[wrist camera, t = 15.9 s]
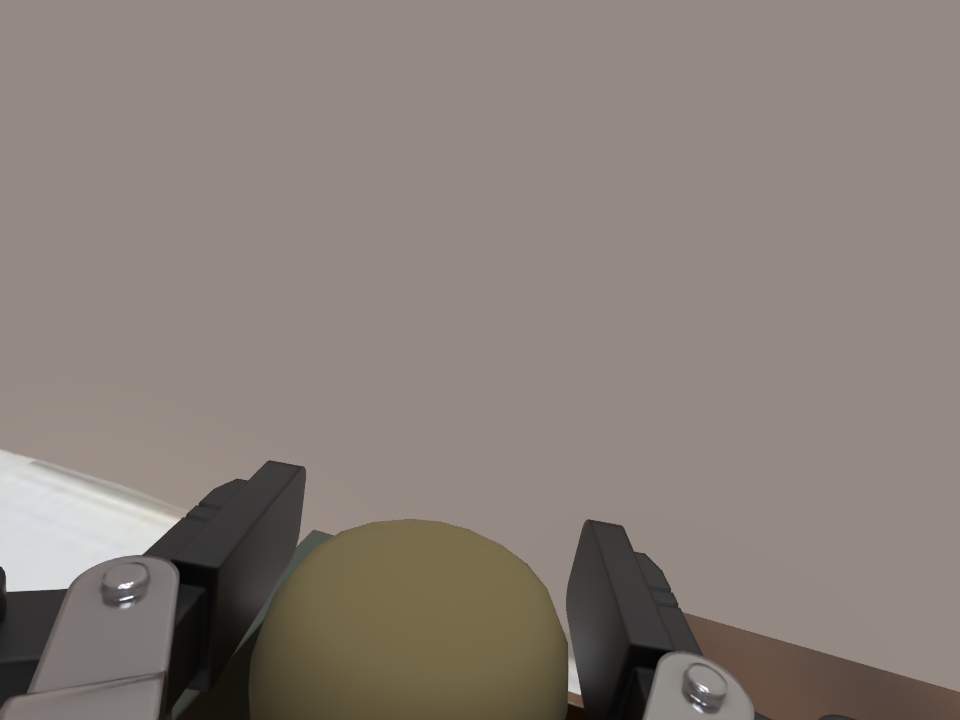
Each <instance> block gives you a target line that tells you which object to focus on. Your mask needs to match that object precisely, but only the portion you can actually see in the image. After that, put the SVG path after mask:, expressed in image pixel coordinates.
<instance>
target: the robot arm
mask: <svg viewBox="0 0 960 720" xmlns="http://www.w3.org/2000/svg"><path fill="white" fill-rule="evenodd" d="M305 481H306V470H305V467H303V466H297V465H292V464H286V463H281V462H276V461H267V462H266V463H265V464H264V465H263V466H262V467H261V468H260V469H259V470H258V471H257V472H256V473H255V474H254V475H253V476H252V478H250V479H249V480H248V481H247V480H241V479H235V480H233V481H231V482H229V483H226V484H224V485H222V486H219V487H217V488H215V489H213V490H212V491H211V492H210V493H209V494H208V495H207V496H206V497H205V498H204V499H203V500H202V501H200V503H199V505H198V506H195V507H194V508H193V509H192V510H191V511H190V512H188V513H187V515H186V517H185V518H184V517H183V518H182V519H181V520H180V521H179V522H178V523H177V524H175V525H174V526H173V527H172V528H171V529H170V530H169V531H168V532H167V533H166V534H165V535H164V536H162V537H161V538H160V539H159V540H158V541H157V542H156V543H155V544H154V545H153V546H152V547H150V548H149V549H148V550H147V551H146V552H145V553H144V554H143V555H133V556H125V557H120V558H115V559H112V560H109V561H105V562H103V563H100V564H98V565H96V566H94V567H92V568H90V569H88V570H87V571H85V572H83V573H82V574H81V575H79V576H78V577H77V578H76V579H75V580H74V581H73V582H72V584H71V585H70V587H69V588H68V589H60V590H40V591H19V592H6V575H5V571H4V570H3V569H2V567H0V720H172V708H173V707H174V705H175V704H176V702H177V701H178V699H179V698H180V697H181V695H182V694H183V692H184V691H185V689H189V690H195V691H201V692H206V693H209V692H210V691H211V689H212V688H213V686H214V684H215V683H216V681H217V680H218V678H219V676H220V675H221V673H222V671H223V670H224V668H225V667H226V665H227V663H228V662H229V660H230V659H231V657H232V655H233V654H234V652H235V650H236V649H237V647H238V646H239V644H240V642H241V641H242V639H243V638H244V636H245V634H246V633H247V631H248V629H249V628H250V626H251V625H252V623H253V621H254V620H255V618H256V616H257V615H258V613H259V612H260V610H261V608H262V607H263V605H264V604H265V602H266V600H267V599H268V597H269V595H270V594H271V592H272V591H273V589H274V587H275V586H276V584H277V583H278V581H279V579H280V578H281V576H282V574H283V573H284V571H285V570H286V568H287V566H288V565H289V563H290V561H291V559H292V557H293V555H294V552H295V549H296V546H297V541H298V538H299V532H300V524H301V516H302V507H303V499H304V489H305ZM566 611H567V618H568V623H569V629H570V634H571V640H572V645H573V651H574V656H575V661H576V667H577V672H578V678H579V683H580V689H581V694H582V699H583V705H584V710H585V716H586V720H773V719H770V718H768V717H766V716H764V715H762V714H760V713H758V712H756V711H754V707H753V704H752V701H751V698H750V696H749V694H748V693H747V691H746V690H745V688H744V687H743V686H742V685H741V683H740V682H739V681H738V680H737V679H736V678H735V677H734V676H733V675H732V674H731V673H729V672H728V671H727V670H726V669H724V668H723V667H721V666H720V665H718V664H717V663H715V662H713V661H711V660H710V659H708V658H705V657H704V656H703V654H702V652H701V650H700V648H699V645H698V643H697V641H696V639H695V637H694V635H693V633H692V631H691V629H690V627H689V625H688V623H687V621H686V619H685V617H684V615H683V613H682V611H681V609H680V608H678V603H677V600H676V598H675V596H674V594H673V593H671V588H670V586H669V584H668V582H667V580H666V578H665V576H664V574H663V572H662V570H661V569H660V568H659V567H658V566H656V564H655V563H654V562H653V561H652V560H651V559H650V558H649V557H648V556H647V555H646V554H644V553H639V552H634V551H633V548H632V546H631V543H630V541H629V539H628V537H627V534H626V532H625V529H624V528H623V526H621V525H616V524H611V523H605V522H600V521H594V520H589V519H588V520H586V522H585V523H584V525H583V528H582V532H581V535H580V539H579V544H578V547H577V551H576V555H575V559H574V563H573V567H572V570H571V574H570V578H569V582H568V587H567V596H566ZM818 720H856V719H853V718H851V717H847V716H843V715H837V714H828V715H825V716H822V717H821V718H819V719H818Z"/></svg>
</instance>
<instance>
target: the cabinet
mask: <svg viewBox="0 0 960 720" xmlns="http://www.w3.org/2000/svg"><path fill="white" fill-rule="evenodd" d="M682 613H683V612H682ZM683 615H684V617H685V619H686V621H687V623H688V625H689V627H690V629H691V631H692V633H693V635H694V637H695V639H696V641H697V643H698V645H699V648H700V650H701V652H702V654H703V656H704V657H705V658H708V659H710V660H711V661H713V662H715V663H717V664H718V665H720V666H721V667H723V668H724V669H726V670H727V671H728V672H729V673H731V674H732V675H733V676H734V677H735V678H736V679H737V680H738V681H739V682H740V683H741V685H742V686H743V687H744V688H745V690H746V691H747V693H748V694H749V696H750V698H751V701H752V704H753V707H754V711H756V712H758V713H760V714H762V715H764V716H766V717H768V718H770V719H773V720H818V719H819V718H821V717H822V716H825V715H828V714H837V715H843V716H847V717H851V718H853V719H856V720H960V692H957V691H954V690H950V689H947V688H943V687H940V686H936V685H933V684H930V683H926V682H923V681H919V680H916V679H912V678H908V677H905V676H902V675H898V674H895V673H891V672H888V671H884V670H881V669H877V668H874V667H870V666H867V665H864V664H860V663H857V662H853V661H850V660H846V659H843V658H839V657H836V656H832V655H829V654H825V653H822V652H819V651H815V650H812V649H808V648H805V647H801V646H798V645H794V644H791V643H787V642H784V641H780V640H777V639H773V638H770V637H767V636H763V635H760V634H756V633H752V632H749V631H745V630H742V629H738V628H735V627H732V626H728V625H725V624H721V623H718V622H715V621H711V620H707V619H704V618H701V617H697V616H694V615H690V614H687V613H683ZM581 696H582V694H581Z"/></svg>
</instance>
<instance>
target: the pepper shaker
mask: <svg viewBox="0 0 960 720" xmlns="http://www.w3.org/2000/svg"><path fill="white" fill-rule="evenodd" d="M248 689H249V704H250V718H251V720H565V718H566V715H567V710H568V642H567V640H566V637H565V634H564V632H563V629H562V626H561V624H560V621H559V618H558V616H557V613H556V610H555V608H554V605H553V602H552V600H551V597H550V595H549V593H548V590H547V588H546V587H545V585H544V584H543V583H542V582H541V581H540V579H539V578H538V577H537V576H536V574H535V573H534V572H533V571H532V569H531V568H530V567H529V566H528V564H526V563H524V562H523V561H522V560H521V559H519V558H518V557H517V556H516V555H514V554H513V553H512V552H510V551H509V550H507V549H506V548H505V547H504V546H502V545H500V544H498V543H496V542H494V541H492V540H490V539H488V538H486V537H484V536H481V535H479V534H477V533H475V532H473V531H471V530H469V529H465V528H462V527H458V526H454V525H450V524H447V523H443V522H438V521H427V520H416V519H405V520H393V521H382V522H373V523H369V524H366V525H362V526H359V527H355V528H352V529H349V530H345V531H342V532H340V533H338V534H337V535H335V536H333V537H332V538H330V539H328V540H327V541H325V542H323V543H322V544H320V545H318V546H317V547H315V548H314V549H313V550H312V551H311V552H310V553H309V554H308V555H307V557H306V558H305V559H304V560H303V561H302V562H301V563H300V564H299V565H298V566H297V568H296V569H295V570H294V571H293V572H292V573H291V574H290V576H289V577H288V578H287V579H286V580H285V581H284V583H283V584H282V585H281V586H280V587H279V588H278V589H277V591H276V592H275V594H274V596H273V598H272V601H271V603H270V606H269V608H268V611H267V613H266V616H265V618H264V621H263V624H262V627H261V629H260V632H259V635H258V638H257V641H256V644H255V647H254V650H253V652H252V655H251V661H250V674H249V688H248Z"/></svg>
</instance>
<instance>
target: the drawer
mask: <svg viewBox="0 0 960 720" xmlns="http://www.w3.org/2000/svg"><path fill="white" fill-rule="evenodd" d="M332 537H333V535H330V534H326V533H323V532H320V531H316V530H313V531H312V532H311V533H310V534H309V535H308V536H307V537H306V538H305V539H304V540H303V541H302V542H301V543H300V544H299V545H298V546H297V547H296V549H295V552H294V555H293V557H292V559H291V561H290V563H289V565H288V566H287V568H286V570H285V571H284V573H283V574H282V576H281V578H280V579H279V581H278V583H277V584H276V586H275V587H274V589H273V591H272V592H271V594H270V595H269V597H268V599H267V600H266V602H265V604H264V605H263V607H262V608H261V610H260V612H259V613H258V615H257V616H256V618H255V620H254V621H253V623H252V625H251V626H250V628H249V629H248V631H247V633H246V634H245V636H244V638H243V639H242V641H241V642H240V644H239V646H238V647H237V649H236V650H235V652H234V654H233V655H232V657H231V659H230V660H229V662H228V663H227V665H226V667H225V668H224V670H223V671H222V673H221V675H220V676H219V678H218V680H217V681H216V683H215V684H214V686H213V688H212V689H211V691H210V692H209V693H206V692H201V691H195V690H189V689H185V691H184V692H183V694H182V695H181V697H180V698H179V699H178V701H177V702H176V704H175V705H174V707H173V708H172V720H251V718H250V704H249V689H248V688H249V674H250V661H251V655H252V652H253V650H254V647H255V644H256V641H257V638H258V635H259V632H260V629H261V627H262V624H263V621H264V618H265V616H266V613H267V611H268V608H269V606H270V603H271V601H272V598H273V596H274V594H275V592H276V591H277V589H278V588H279V587H280V586H281V585H282V584H283V583H284V581H285V580H286V579H287V578H288V577H289V576H290V574H291V573H292V572H293V571H294V570H295V569H296V568H297V566H298V565H299V564H300V563H301V562H302V561H303V560H304V559H305V558H306V557H307V555H308V554H309V553H310V552H311V551H312V550H313V549H314V548H315V547H317V546H318V545H320V544H322V543H323V542H325V541H327V540H328V539H330V538H332ZM565 720H586V716H585V710H584V705H583V699H582V696H581V695H578V694H575V693H572V692H568V710H567V715H566V718H565Z"/></svg>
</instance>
